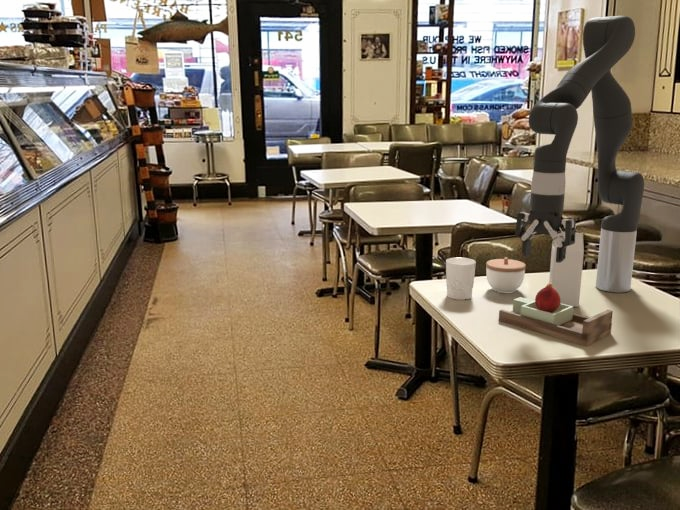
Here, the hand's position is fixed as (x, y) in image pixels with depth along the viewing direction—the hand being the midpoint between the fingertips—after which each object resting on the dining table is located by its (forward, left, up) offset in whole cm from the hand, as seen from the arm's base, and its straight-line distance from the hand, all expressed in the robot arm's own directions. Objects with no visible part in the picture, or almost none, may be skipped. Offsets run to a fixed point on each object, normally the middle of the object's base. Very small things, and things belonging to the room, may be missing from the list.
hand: (542, 258), depth 161 cm
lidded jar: (-17, -21, -16) cm, 32 cm away
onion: (0, +2, -14) cm, 14 cm away
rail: (0, +4, -16) cm, 17 cm away
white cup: (-3, -26, -16) cm, 31 cm away
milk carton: (-19, -4, -16) cm, 25 cm away
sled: (0, 0, -15) cm, 15 cm away
